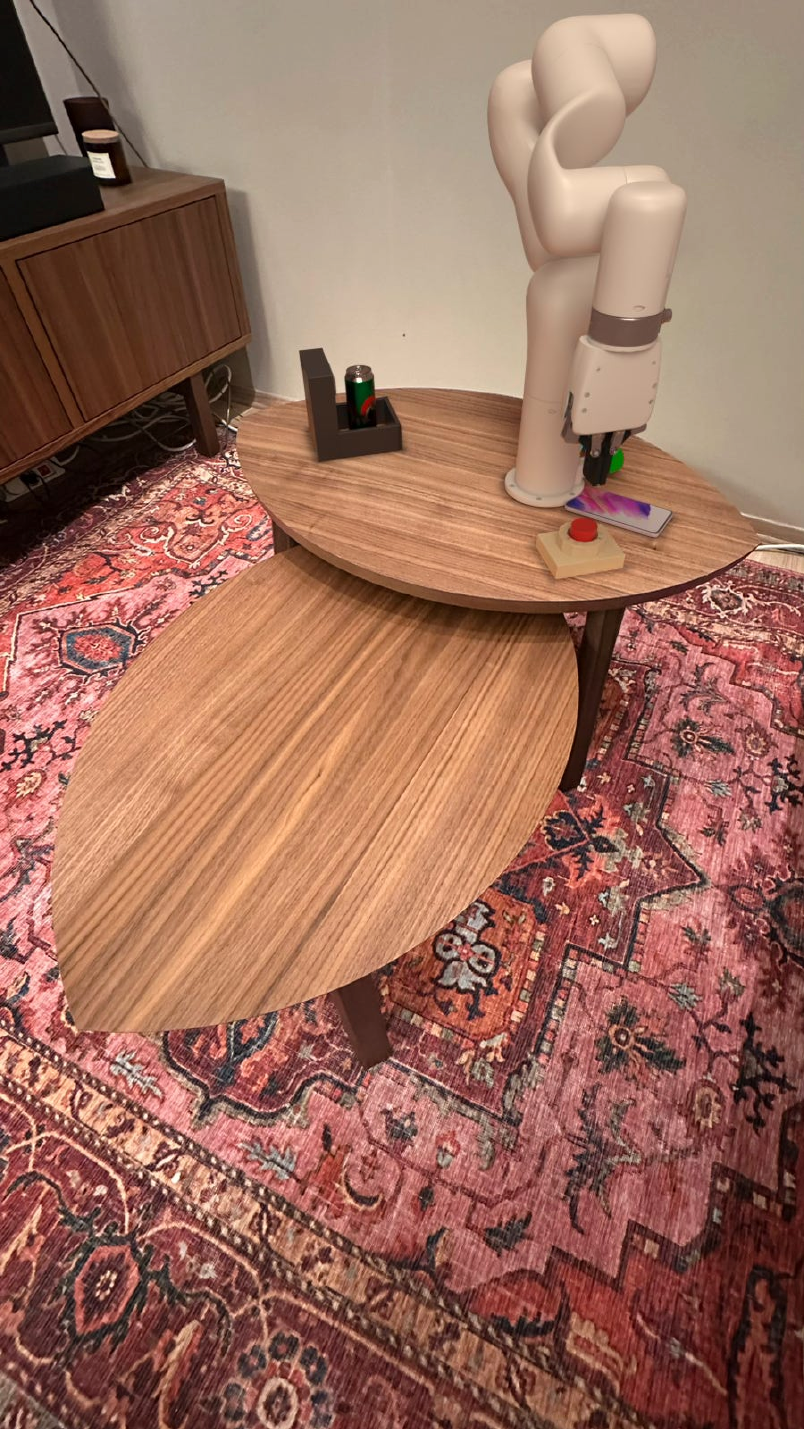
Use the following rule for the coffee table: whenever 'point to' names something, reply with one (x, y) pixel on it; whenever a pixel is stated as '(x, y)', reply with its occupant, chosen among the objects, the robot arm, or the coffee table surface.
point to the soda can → (360, 397)
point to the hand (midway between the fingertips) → (594, 480)
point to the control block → (579, 552)
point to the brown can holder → (342, 416)
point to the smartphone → (620, 511)
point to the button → (583, 530)
